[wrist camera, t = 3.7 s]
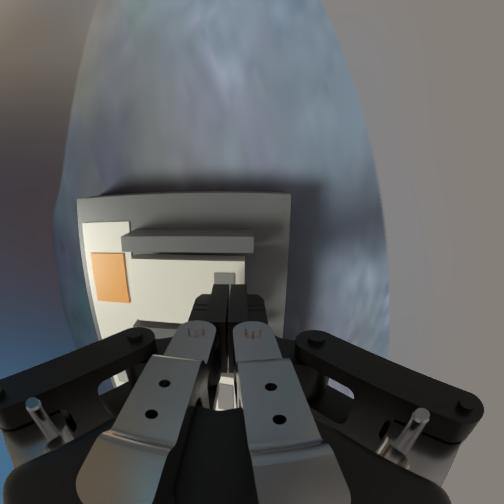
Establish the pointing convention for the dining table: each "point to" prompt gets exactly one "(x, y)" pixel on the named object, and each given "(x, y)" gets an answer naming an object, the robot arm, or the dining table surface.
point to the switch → (179, 282)
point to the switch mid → (226, 392)
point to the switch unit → (181, 247)
